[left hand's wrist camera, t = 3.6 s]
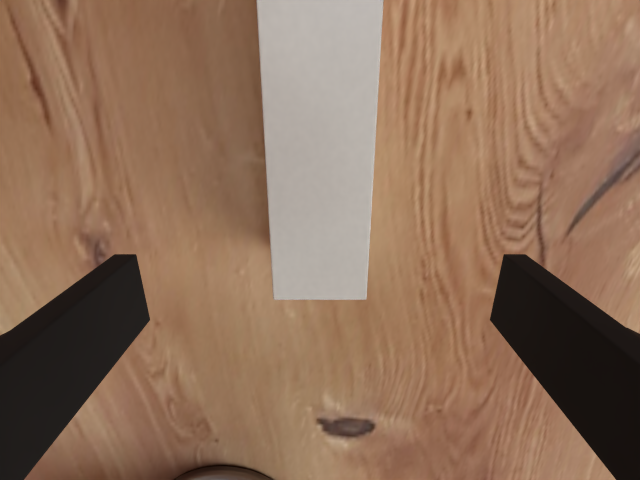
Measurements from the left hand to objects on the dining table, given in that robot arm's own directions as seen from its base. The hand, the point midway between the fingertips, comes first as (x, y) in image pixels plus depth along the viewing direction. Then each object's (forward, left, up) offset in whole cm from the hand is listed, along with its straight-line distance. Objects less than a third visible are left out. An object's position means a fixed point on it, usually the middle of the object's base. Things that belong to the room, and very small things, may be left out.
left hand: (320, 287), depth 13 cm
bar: (+7, +23, -14) cm, 28 cm away
